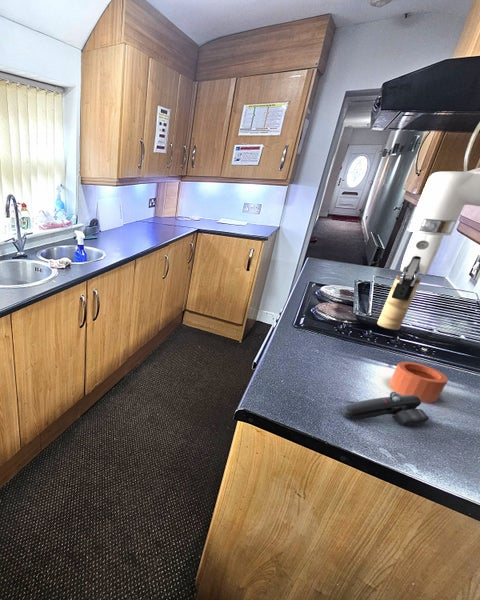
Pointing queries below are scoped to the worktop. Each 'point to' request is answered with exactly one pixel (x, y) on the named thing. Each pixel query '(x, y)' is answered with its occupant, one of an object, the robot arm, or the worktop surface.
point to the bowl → (418, 381)
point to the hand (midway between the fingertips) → (400, 296)
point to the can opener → (389, 409)
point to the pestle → (396, 307)
